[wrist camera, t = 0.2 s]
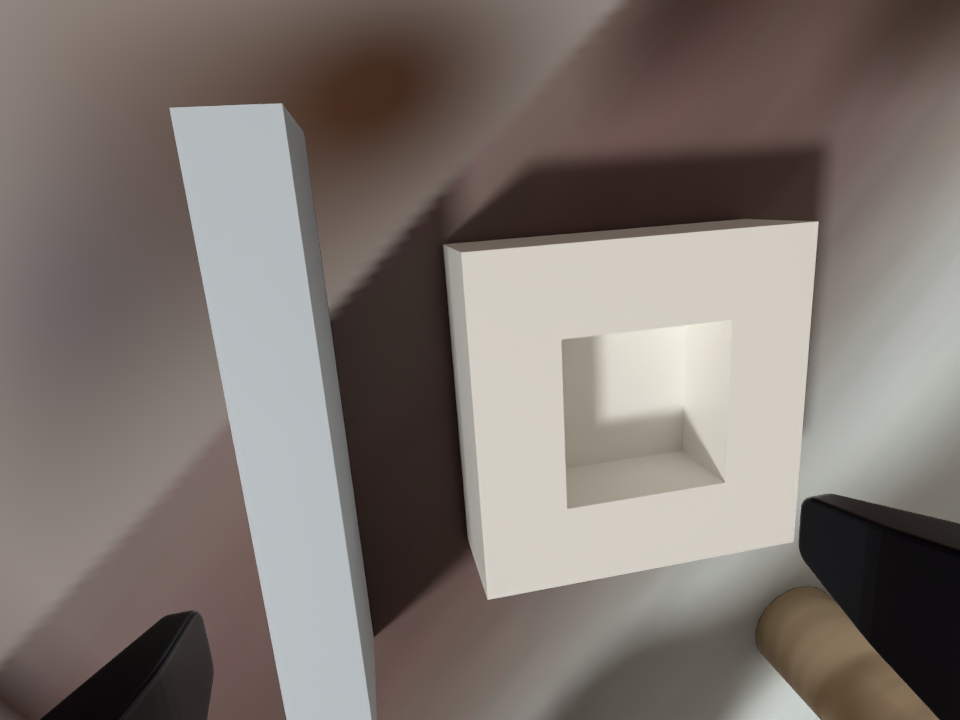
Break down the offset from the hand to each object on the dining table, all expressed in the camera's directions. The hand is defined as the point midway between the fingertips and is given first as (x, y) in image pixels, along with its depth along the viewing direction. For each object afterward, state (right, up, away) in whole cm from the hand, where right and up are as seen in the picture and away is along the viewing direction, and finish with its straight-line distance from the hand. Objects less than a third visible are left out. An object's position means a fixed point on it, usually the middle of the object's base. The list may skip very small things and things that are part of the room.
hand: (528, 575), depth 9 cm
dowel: (+15, -10, +21) cm, 28 cm away
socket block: (+4, +2, +15) cm, 16 cm away
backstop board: (-7, +1, +14) cm, 15 cm away
